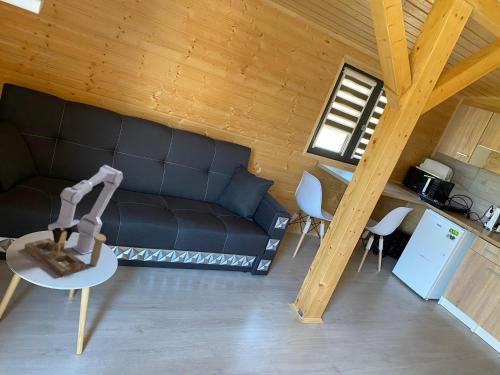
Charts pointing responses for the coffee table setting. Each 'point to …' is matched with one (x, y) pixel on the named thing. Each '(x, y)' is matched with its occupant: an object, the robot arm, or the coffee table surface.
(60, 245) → the peg
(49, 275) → the coffee table surface
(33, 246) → the mount block
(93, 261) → the handle
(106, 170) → the robot arm
